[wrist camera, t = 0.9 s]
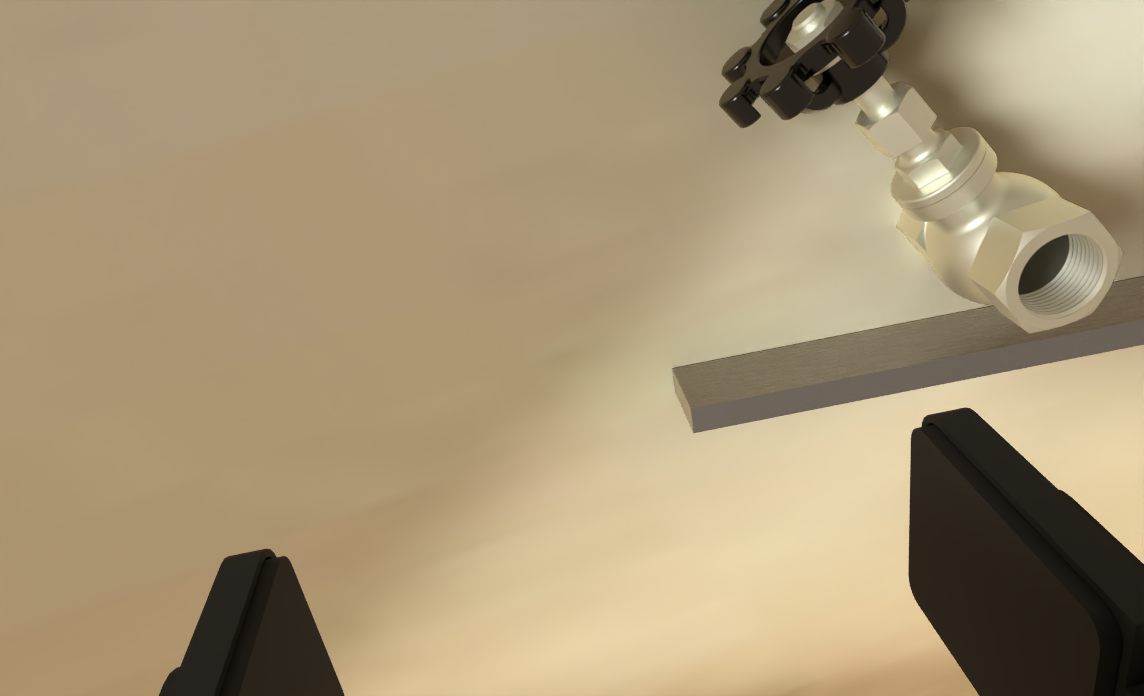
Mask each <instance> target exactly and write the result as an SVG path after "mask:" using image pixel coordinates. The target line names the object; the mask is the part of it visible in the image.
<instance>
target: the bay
mask: <svg viewBox="0 0 1144 696" xmlns="http://www.w3.org/2000/svg"><path fill="white" fill-rule="evenodd" d="M1143 344H1144V276H1143V277H1138V278H1133V279H1128V280H1122V281H1117V282H1112V284H1111V286H1110V288H1109V290H1108V292H1107V293H1106V295H1105V296H1104V298H1103V300H1102V301H1101V303H1100V304H1099V305H1098V307H1097V308H1096V309H1095V310H1094V312H1093V313H1092V314H1090V315H1088V316H1086V317H1084V318H1082V319H1080V320H1078V321H1075V322H1072V323H1069V324H1067V325H1064V326H1060V327H1057V328H1053V329H1049V330H1045V331H1040V332H1034V333H1028V332H1026V331H1025V330H1024V329H1022V328H1021V327H1019V326H1018V325H1017V324H1015V323H1014V322H1012V321H1011V320H1010V319H1008V318H1007V317H1005V316H1004V315H1003V314H1001V313H1000V312H999V311H998V309H997V308H996V307H995V306H989V307H984V308H979V309H974V310H969V311H964V312H959V313H954V314H949V315H943V316H938V317H933V318H928V319H923V320H918V321H913V322H908V323H902V324H897V325H892V326H887V327H882V328H877V329H872V330H867V331H862V332H856V333H851V334H846V335H841V336H836V337H831V338H826V339H821V340H815V341H810V342H805V343H800V344H795V345H790V346H785V347H780V348H775V349H769V350H764V351H759V352H754V353H749V354H744V355H739V356H734V357H728V358H723V359H718V360H713V361H708V362H703V363H698V364H693V365H688V366H682V367H677V368H672V370H673V378H674V386H675V392H676V394H677V397H678V399H679V401H680V404H681V406H682V408H683V410H684V413H685V415H686V417H687V419H688V422H689V424H690V426H691V428H692V431H693V433H697V432H702V431H707V430H712V429H717V428H722V427H727V426H732V425H737V424H743V423H748V422H753V421H758V420H763V419H768V418H773V417H778V416H783V415H788V414H793V413H798V412H803V411H808V410H814V409H819V408H824V407H829V406H834V405H839V404H844V403H849V402H854V401H859V400H864V399H869V398H874V397H879V396H885V395H890V394H895V393H900V392H905V391H910V390H915V389H920V388H925V387H930V386H935V385H940V384H945V383H950V382H956V381H961V380H966V379H971V378H976V377H981V376H986V375H991V374H996V373H1001V372H1006V371H1011V370H1016V369H1021V368H1027V367H1032V366H1037V365H1042V364H1047V363H1052V362H1057V361H1062V360H1067V359H1072V358H1077V357H1082V356H1087V355H1093V354H1098V353H1103V352H1108V351H1113V350H1118V349H1123V348H1128V347H1133V346H1138V345H1143Z"/></svg>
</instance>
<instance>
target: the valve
mask: <svg viewBox="0 0 1144 696" xmlns="http://www.w3.org/2000/svg"><path fill="white" fill-rule="evenodd" d="M908 1H909V0H849V2H848V3H847V4H846V6H845V7H843V6H842V4H841V3H840V2H839V1H836V0H775V1H773V2H772V3H771V4H770V6H769V7H768V8H767V9H766V10H765V11H764V12H763V14H762V16H761V18H760V22H761V24H762V25H763V26H764V27H765V28H766V30H765V32H764V33H763V34H762V36H761V37H760V38H759V40H758V41H757V42H756V43H755V44H754V45H752V46H751V47H744V48H742V49H740V50H738V51H737V52H736V53H735V54H734V55H732V56H731V57H730V59H729V60H728V61H727V62H726V64H725V65H724V67H723V69H722V75H723V77H724V78H725V79H726V80H727V81H728V82H729V83H730V84H731V85H730V86H729V87H728V88H727V90H726V91H725V92H724V93H723V95H722V96H721V98H720V101H719V106H720V107H721V108H722V109H723V110H724V111H725V112H726V114H727V115H728V116H729V117H730V118H731V119H732V120H733V121H734V122H735V123H736V124H737V125H738V126H739V127H740V128H746V127H748V126H750V125H752V124H753V123H755V122H756V121H757V120H758V119H759V118H760V117H761V115H760V114H759V113H758V111H757V110H756V109H755V108H754V107H753V106H752V104H753V103H754V102H755V101H756V99H757V98H758V97H759V96H761V98H762V99H763V100H764V101H765V102H766V103H767V104H768V105H769V106H770V107H771V108H772V109H773V110H774V112H775V113H776V114H777V115H778V116H779V117H780V118H781V119H782V120H789V119H791V118H793V117H795V116H797V115H798V114H799V113H805V114H811V113H815V112H819V111H822V110H825V109H827V108H829V107H831V106H832V105H833V104H835V105H842V104H845V103H848V102H850V101H852V100H854V101H855V102H856V104H857V105H858V106H859V107H860V108H861V109H862V110H861V111H860V113H859V115H858V117H857V120H856V123H855V124H856V126H857V127H858V128H859V129H860V130H861V131H862V132H863V133H864V135H865V136H866V137H867V138H868V139H869V140H870V141H871V142H872V144H873V145H874V146H875V147H876V148H877V149H878V150H879V151H880V152H881V153H883V154H885V155H887V156H889V157H891V158H893V159H894V158H896V157H897V156H898V158H897V160H896V162H895V165H894V168H895V169H896V170H897V172H896V173H895V175H894V177H893V180H892V183H891V194H892V197H893V198H894V199H895V200H896V202H897V203H898V204H899V205H900V206H901V207H902V208H903V210H902V213H901V215H900V218H899V220H898V223H897V228H898V230H899V231H900V232H901V233H902V234H903V235H904V236H905V237H906V238H907V239H908V240H909V242H910V243H911V244H912V245H913V246H914V247H915V248H916V249H917V250H918V251H919V252H920V253H921V255H922V256H923V257H924V258H925V259H926V260H927V261H929V262H930V264H931V266H932V268H933V270H934V272H935V273H936V275H937V276H938V277H939V279H940V280H941V281H942V282H943V283H944V284H945V285H946V286H947V287H948V288H949V289H951V290H952V291H953V292H955V293H956V294H958V295H960V296H962V297H964V298H966V299H968V300H971V301H974V302H977V303H981V304H986V305H994V306H995V307H996V308H997V309H998V311H999V312H1000V313H1001V314H1003V315H1004V316H1005V317H1007V318H1008V319H1010V320H1011V321H1012V322H1014V323H1015V324H1017V325H1018V326H1019V327H1021V328H1022V329H1024V330H1025V331H1026V332H1028V333H1034V332H1040V331H1045V330H1049V329H1053V328H1057V327H1060V326H1064V325H1067V324H1069V323H1072V322H1075V321H1078V320H1080V319H1082V318H1084V317H1086V316H1088V315H1090V314H1092V313H1093V312H1094V310H1095V309H1096V308H1097V307H1098V305H1099V304H1100V303H1101V301H1102V300H1103V298H1104V296H1105V295H1106V293H1107V292H1108V290H1109V288H1110V286H1111V284H1112V282H1113V280H1114V278H1115V276H1116V273H1117V271H1118V269H1119V266H1120V263H1121V260H1122V257H1123V252H1122V250H1121V249H1120V247H1119V246H1118V244H1117V243H1116V241H1115V240H1114V238H1113V237H1112V236H1111V234H1110V233H1109V232H1108V231H1107V230H1106V228H1105V227H1104V226H1103V225H1102V224H1101V222H1100V221H1099V220H1098V219H1097V218H1096V217H1095V216H1094V215H1093V214H1092V213H1091V212H1090V211H1089V210H1087V209H1084V208H1082V207H1080V206H1078V205H1075V204H1073V203H1071V202H1069V201H1066V200H1064V199H1062V198H1061V197H1060V196H1059V194H1058V193H1057V192H1056V191H1054V190H1053V189H1052V188H1051V187H1049V186H1048V185H1046V184H1045V183H1043V182H1041V181H1039V180H1037V179H1035V178H1033V177H1030V176H1027V175H1023V174H1019V173H1013V172H997V171H996V168H997V156H996V154H995V152H994V151H993V150H992V148H991V147H990V146H989V145H988V143H987V142H986V141H985V140H984V139H983V137H982V136H981V135H980V134H979V132H978V131H976V130H975V129H973V128H969V127H958V128H953V129H950V130H947V131H946V130H944V129H942V128H938V127H935V128H932V129H931V127H932V125H933V123H934V122H935V120H936V118H937V116H936V114H935V113H934V112H933V111H932V110H931V108H930V107H929V106H928V105H927V104H926V102H925V101H924V100H923V99H922V98H921V96H920V95H919V94H918V93H917V92H916V90H915V89H914V88H913V87H912V86H910V85H908V84H906V83H903V82H896V83H894V84H891V85H890V84H889V83H888V82H887V81H886V80H885V78H884V77H883V76H882V74H883V73H884V72H885V70H886V68H887V66H888V64H889V60H890V56H889V53H888V52H887V51H886V50H887V49H888V48H889V47H890V46H892V45H893V44H894V43H895V42H896V41H897V39H898V38H899V37H900V35H901V34H902V32H903V30H904V27H905V24H906V18H907V6H906V2H908ZM880 7H882V9H883V10H884V11H885V13H886V15H887V17H886V19H885V21H884V22H883V23H882V24H881V25H880V26H877V25H876V23H875V22H874V21H873V20H872V19H873V18H874V16H875V15H876V13H877V12H878V11H879V9H880ZM786 44H787V45H788V47H789V48H790V49H791V50H792V51H793V52H794V53H795V54H793V55H792V56H790V57H788V58H787V59H785V60H783V61H781V62H779V63H777V64H775V61H776V59H777V57H778V55H779V54H780V52H781V51H782V49H783V48H784V46H785V45H786ZM809 78H810V79H811V81H812V82H813V83H814V84H815V85H816V86H817V89H816V91H815V92H812V91H811V90H810V89H809V88H808V87H807V86H806V85H805V83H804V81H806V80H807V79H809Z"/></svg>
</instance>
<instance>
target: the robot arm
mask: <svg viewBox="0 0 1144 696" xmlns="http://www.w3.org/2000/svg"><path fill="white" fill-rule="evenodd" d="M909 582H910V587H911V590H912V593H913V595H914V598H915V600H916V602H917V603H918V605H919V606H920V608H921V609H922V611H923V612H924V614H925V615H926V617H927V618H928V620H929V621H930V623H931V624H932V626H933V627H934V629H935V630H936V632H937V633H938V635H939V636H940V638H941V639H942V641H943V642H944V644H945V645H946V647H947V648H948V650H949V651H950V652H951V654H952V655H953V657H954V658H955V660H956V661H957V663H958V664H959V666H960V667H961V669H962V670H963V672H964V673H965V675H966V676H967V678H968V679H969V681H970V682H971V684H972V685H973V687H974V688H975V690H976V691H977V693H978V694H979V696H1144V564H1143V563H1142V562H1141V561H1140V560H1139V559H1137V558H1136V557H1135V556H1134V555H1133V554H1132V553H1131V552H1130V551H1129V550H1128V549H1127V548H1126V547H1125V546H1123V545H1122V544H1121V543H1120V542H1119V541H1118V540H1117V539H1116V538H1115V537H1114V536H1113V535H1112V534H1111V533H1109V532H1108V531H1107V530H1106V529H1105V528H1104V527H1103V526H1102V525H1101V524H1100V523H1099V522H1098V521H1097V520H1095V519H1094V518H1093V517H1092V516H1091V515H1090V514H1089V513H1088V512H1087V511H1086V510H1085V509H1084V508H1083V507H1081V506H1080V505H1079V504H1078V503H1077V502H1076V501H1075V500H1074V499H1073V498H1072V497H1070V496H1069V495H1068V494H1066V493H1065V492H1063V491H1062V490H1058V489H1057V488H1056V487H1055V486H1054V485H1053V484H1052V483H1051V482H1050V481H1048V480H1047V479H1046V478H1045V477H1044V476H1043V475H1042V474H1041V473H1040V472H1039V471H1038V470H1037V469H1036V468H1035V467H1034V466H1032V465H1031V464H1030V463H1029V462H1028V461H1027V460H1026V459H1025V458H1024V457H1023V456H1022V455H1021V454H1020V453H1019V452H1018V451H1016V450H1015V449H1014V448H1013V447H1012V446H1011V445H1010V444H1009V443H1008V442H1007V441H1006V440H1005V439H1004V438H1003V437H1002V436H1000V435H999V434H998V433H997V432H996V431H995V430H994V429H993V428H992V427H991V426H990V425H989V424H988V423H987V422H985V421H984V420H983V419H982V418H981V417H980V416H979V415H978V414H977V413H976V412H975V411H973V410H972V409H970V408H961V409H956V410H951V411H946V412H941V413H936V414H931V415H927V416H926V417H924V419H923V422H922V427H920V428H916V429H914V430H913V432H912V435H911V470H910V525H909ZM159 696H344V693H343V690H342V688H341V685H340V683H339V680H338V678H337V675H336V673H335V670H334V668H333V665H332V663H331V660H330V658H329V656H328V653H327V651H326V648H325V646H324V643H323V641H322V638H321V636H320V633H319V631H318V628H317V626H316V623H315V621H314V619H313V616H312V614H311V611H310V609H309V606H308V604H307V601H306V599H305V596H304V594H303V591H302V589H301V586H300V584H299V582H298V579H297V577H296V574H295V572H294V569H293V567H292V564H291V562H290V560H289V559H288V558H287V557H285V556H282V557H276V556H275V554H274V552H273V551H272V550H271V549H263V550H258V551H253V552H248V553H243V554H238V555H233V556H228V557H226V558H225V559H224V560H223V562H222V564H221V566H220V568H219V571H218V573H217V576H216V578H215V581H214V583H213V586H212V588H211V591H210V593H209V596H208V598H207V601H206V603H205V606H204V608H203V611H202V614H201V616H200V619H199V621H198V624H197V626H196V629H195V631H194V634H193V636H192V639H191V641H190V644H189V646H188V649H187V651H186V654H185V656H184V659H183V661H182V664H181V666H180V667H178V668H176V669H175V670H173V671H172V672H171V673H170V674H169V675H168V677H167V679H166V681H165V683H164V684H163V687H162V689H161V692H160V694H159Z"/></svg>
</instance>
